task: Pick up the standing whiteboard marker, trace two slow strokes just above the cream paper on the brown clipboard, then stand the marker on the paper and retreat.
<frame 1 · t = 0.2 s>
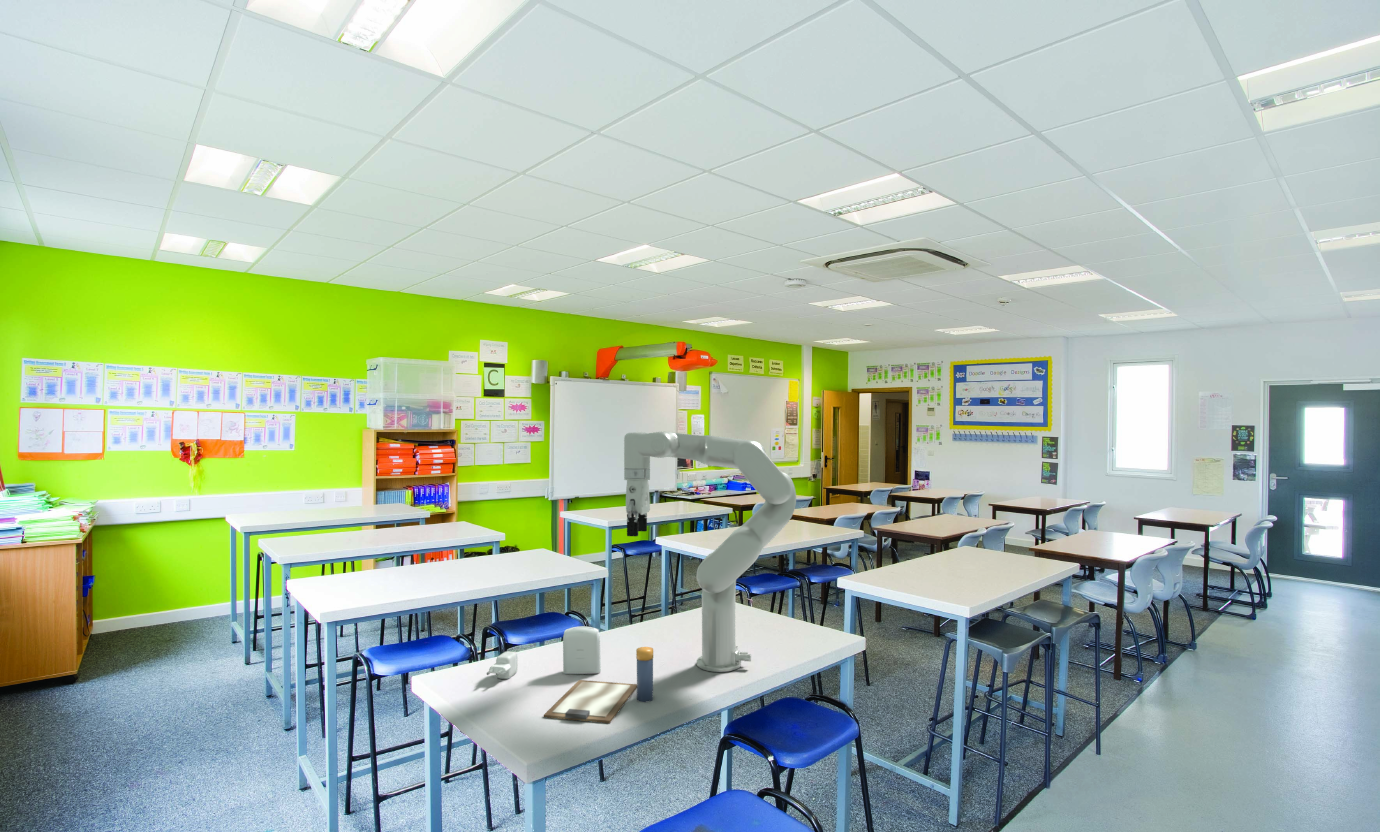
hand: (637, 533, 190), 36 cm above the table, tool pointing down, fingers open, 9 cm apart
photo printer: (581, 672, 179), on the table
clipboard: (593, 700, 160), on the table
power adapter: (502, 680, 175), on the table
marker: (645, 698, 161), on the table
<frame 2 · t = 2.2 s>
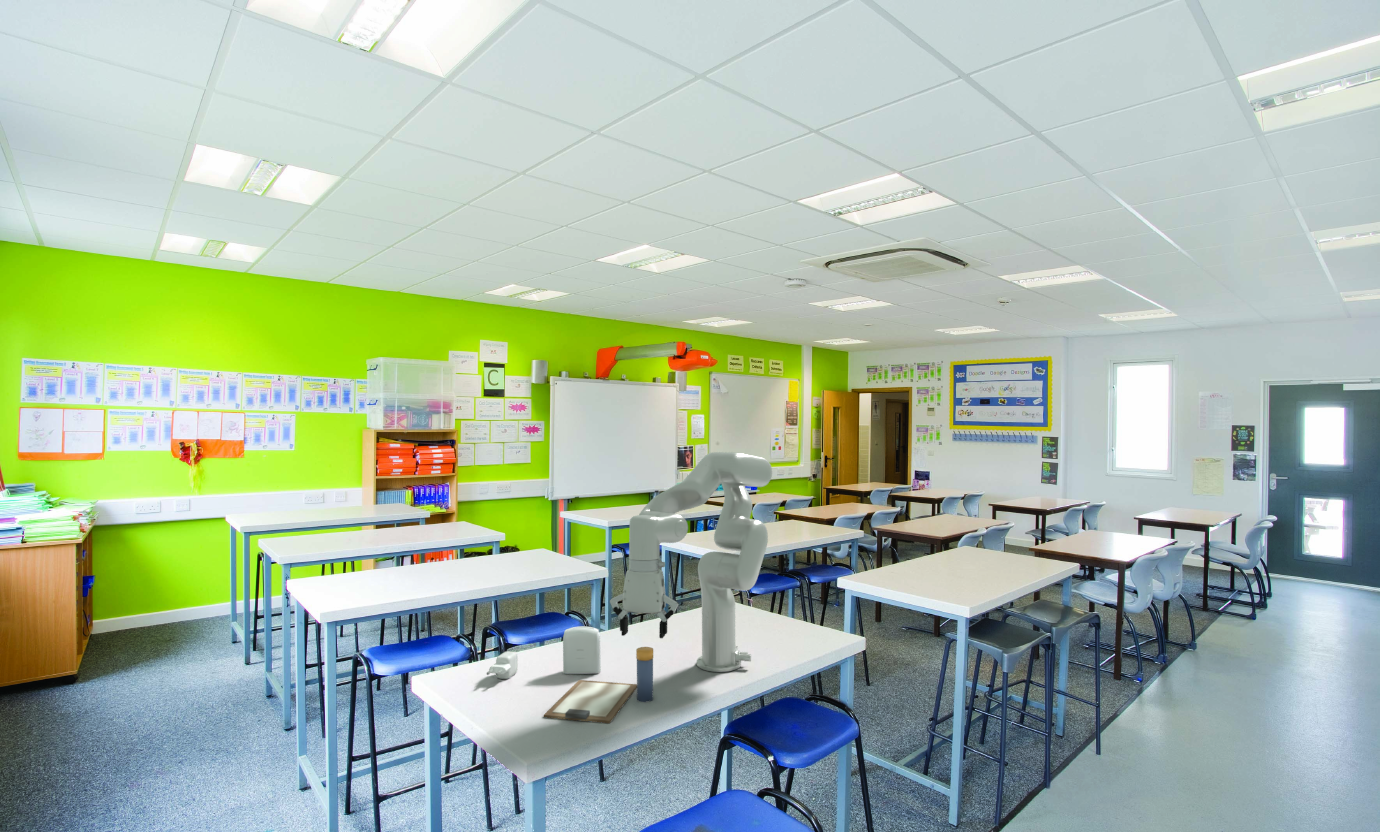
hand: (643, 635, 161), 16 cm above the table, tool pointing down, fingers open, 9 cm apart
nothing on the table moved.
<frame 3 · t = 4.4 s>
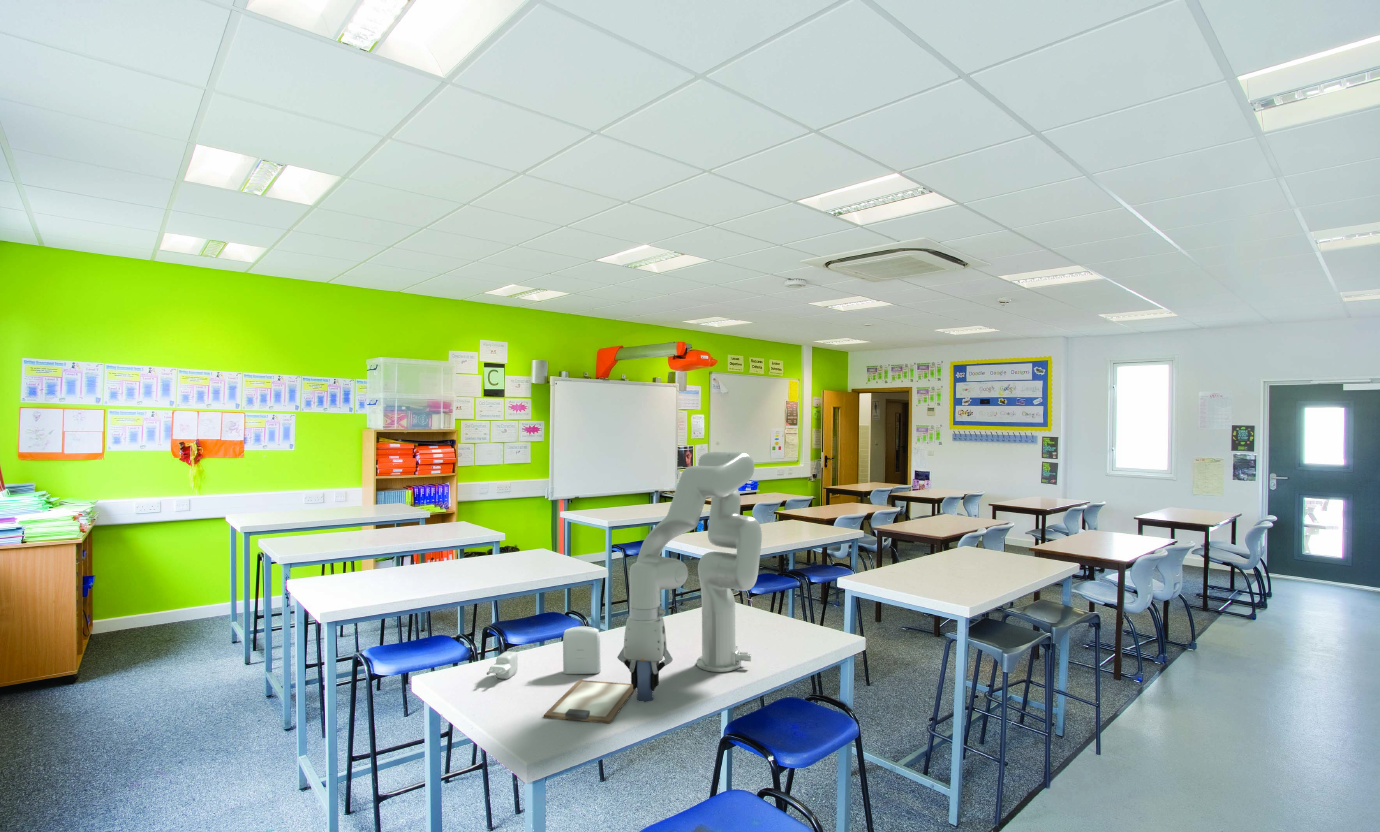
hand: (644, 686, 161), 3 cm above the table, tool pointing down, fingers closed on marker, 4 cm apart
marker: (645, 698, 161), on the table, touching gripper
everything else where it was.
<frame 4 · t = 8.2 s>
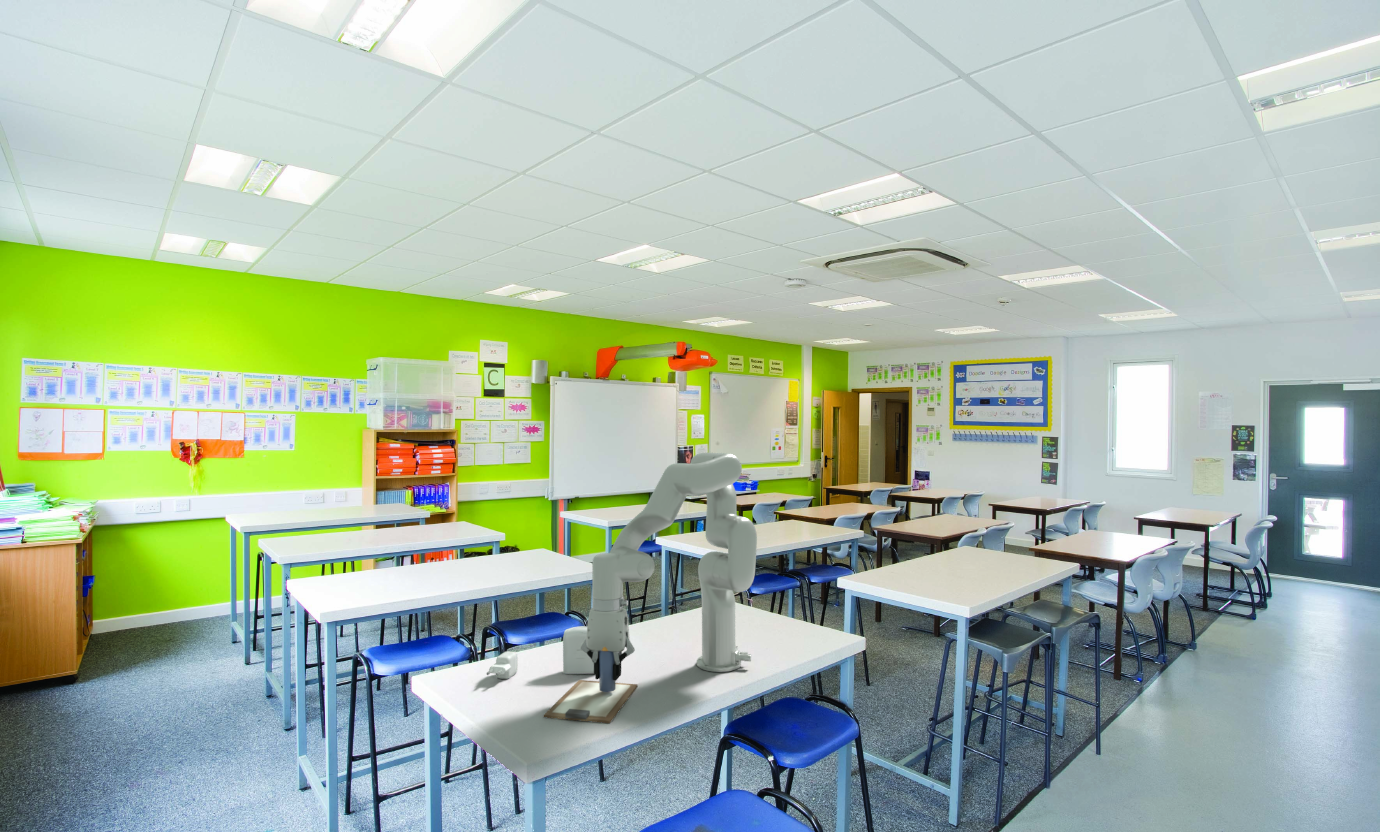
hand: (607, 677, 163), 5 cm above the table, tool pointing down, fingers closed on marker, 4 cm apart
marker: (607, 688, 163), point 2 cm above the table, touching gripper
everything else where it was.
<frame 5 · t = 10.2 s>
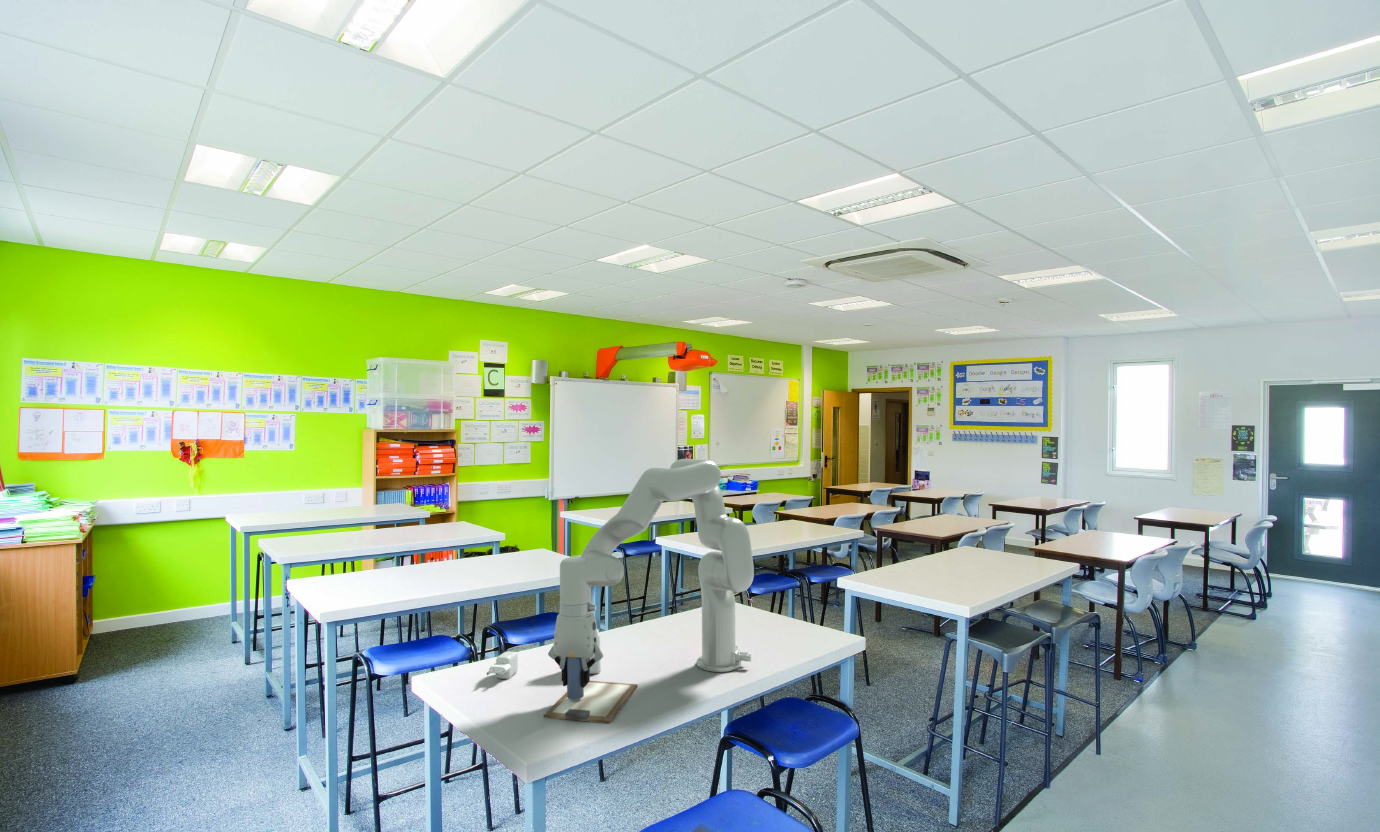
hand: (575, 683, 159), 4 cm above the table, tool pointing down, fingers closed on marker, 4 cm apart
marker: (575, 695, 159), point 2 cm above the table, touching gripper
everything else where it was.
when the fingers open (5 cm above the table, at t = 11.9 s): marker stays where it is, resting on clipboard.
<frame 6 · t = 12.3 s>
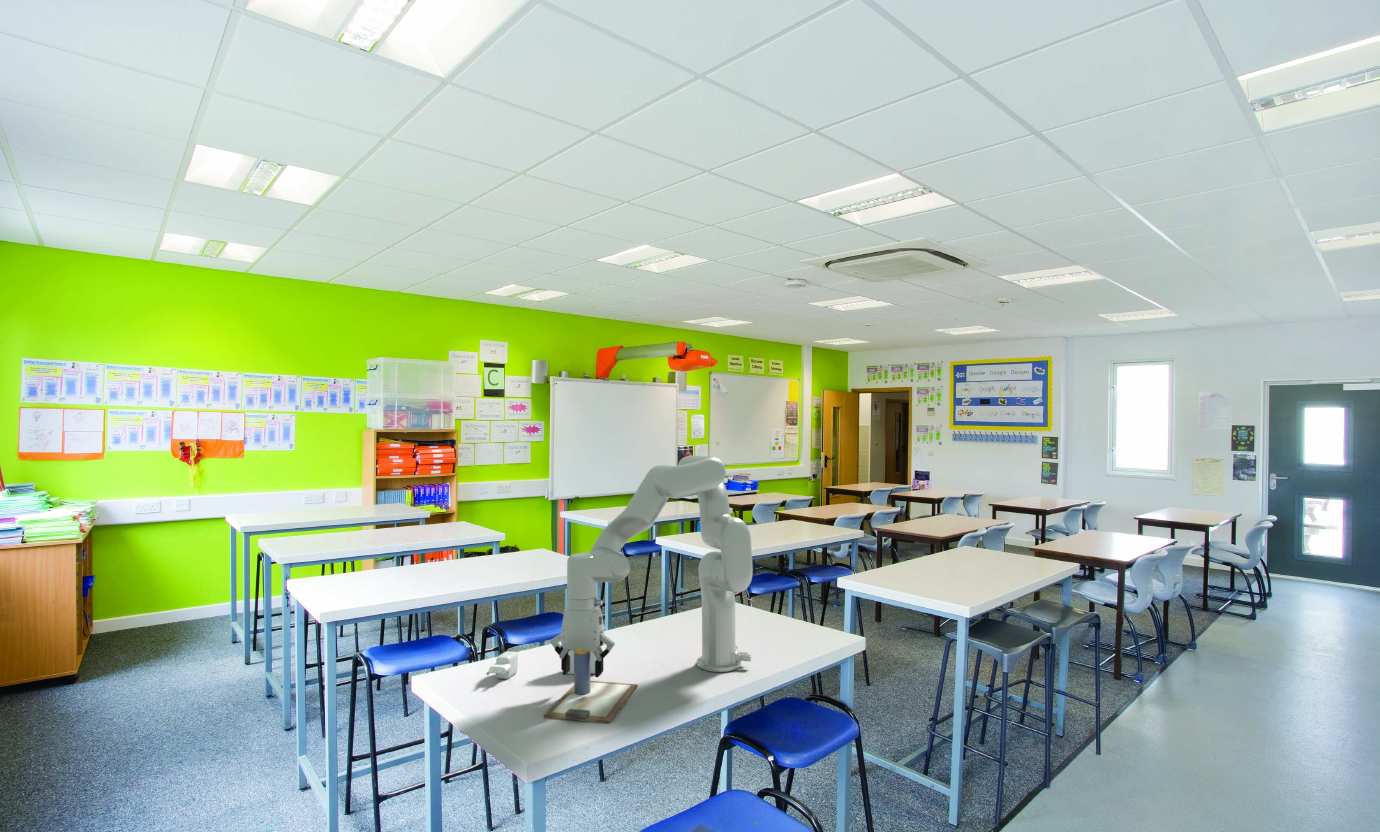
hand: (582, 673, 164), 5 cm above the table, tool pointing down, fingers open, 8 cm apart
marker: (582, 691, 164), point 1 cm above the table, touching clipboard
everything else where it was.
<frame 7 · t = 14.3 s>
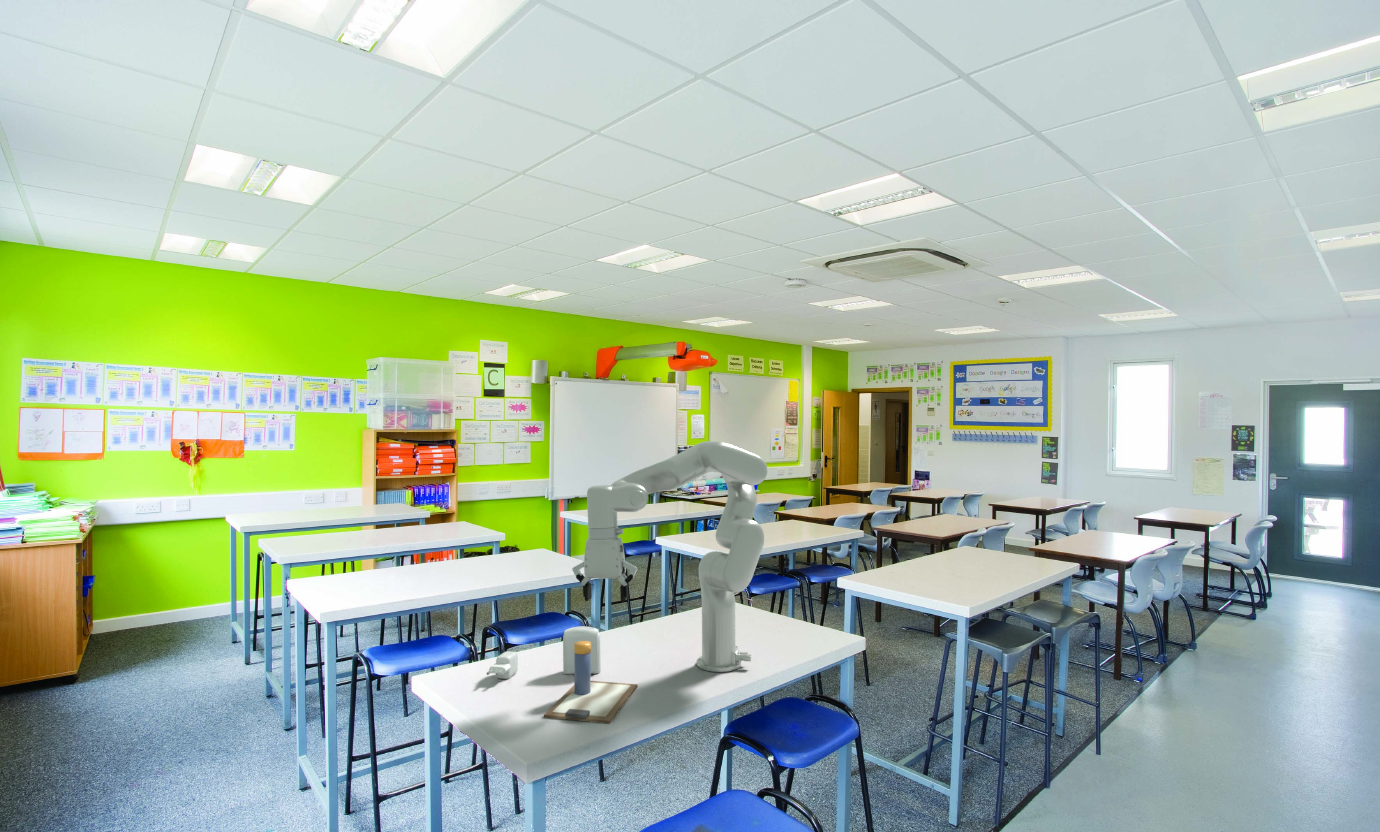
hand: (606, 599, 169), 23 cm above the table, tool pointing down, fingers open, 9 cm apart
nothing on the table moved.
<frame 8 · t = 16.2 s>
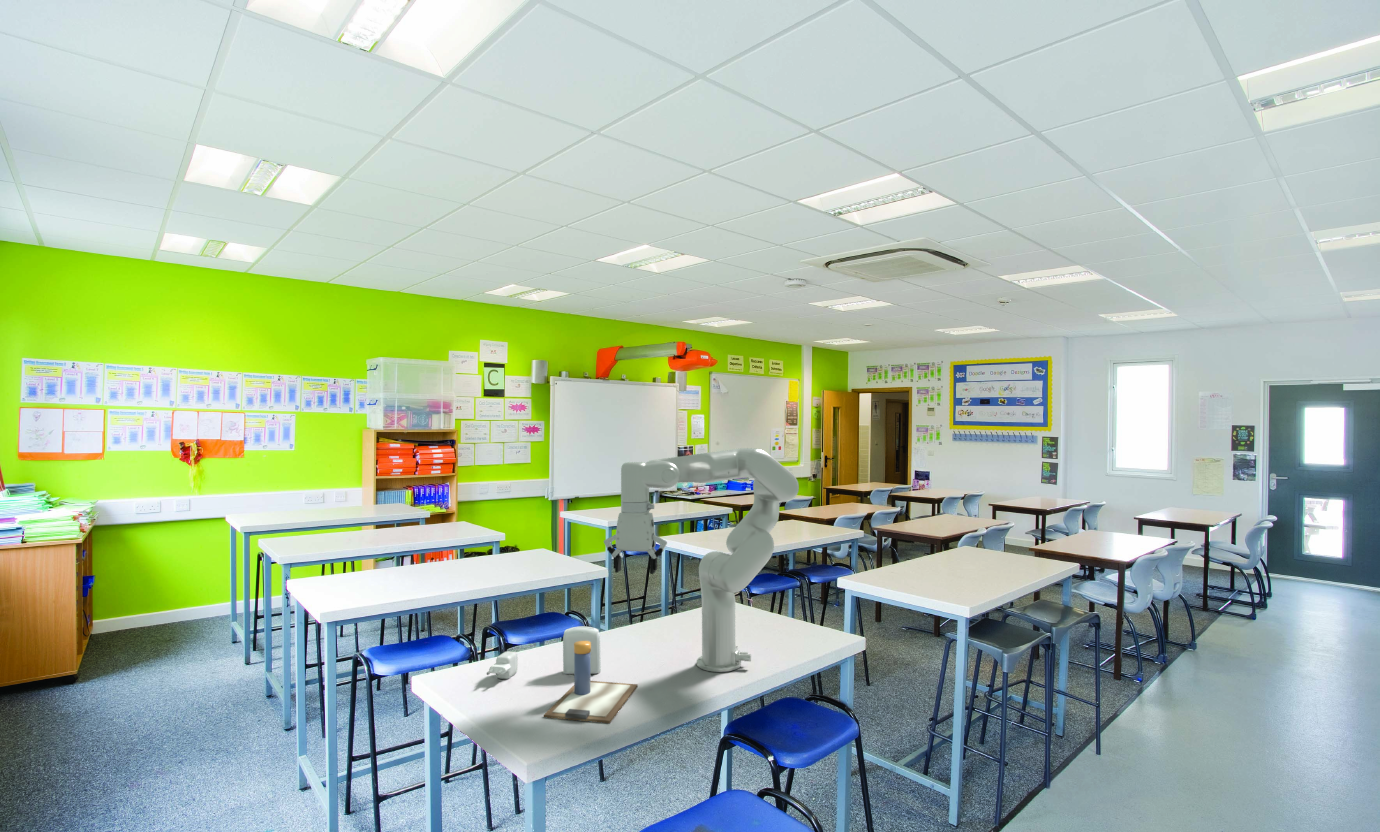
hand: (635, 572, 175), 28 cm above the table, tool pointing down, fingers open, 9 cm apart
nothing on the table moved.
at the end: marker inside the target area on the clipboard (4.9 cm from its centre), point 0.8 cm above the clipboard's base; marker tilted 1°; the gripper is holding nothing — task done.
